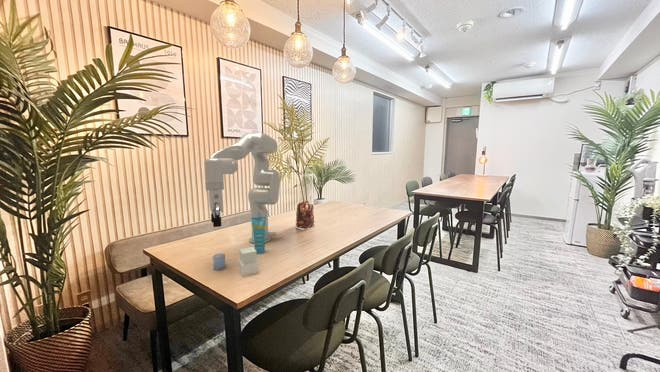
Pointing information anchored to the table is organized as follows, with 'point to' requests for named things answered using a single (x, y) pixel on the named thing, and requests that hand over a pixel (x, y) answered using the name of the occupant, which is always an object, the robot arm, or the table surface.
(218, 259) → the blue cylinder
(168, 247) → the table surface
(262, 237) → the tube
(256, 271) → the block base
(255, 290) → the table surface
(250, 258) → the block top
